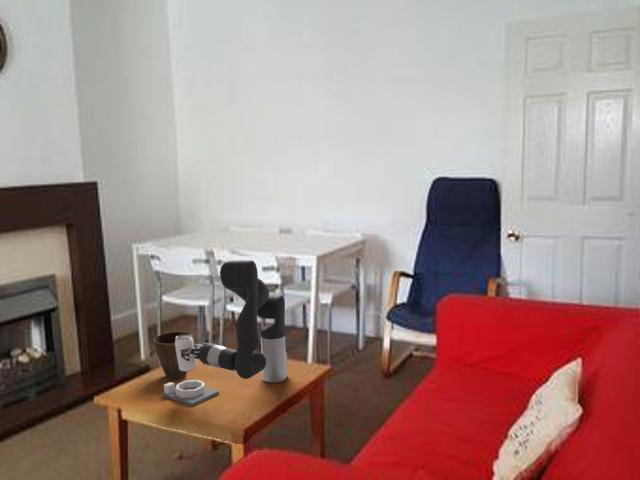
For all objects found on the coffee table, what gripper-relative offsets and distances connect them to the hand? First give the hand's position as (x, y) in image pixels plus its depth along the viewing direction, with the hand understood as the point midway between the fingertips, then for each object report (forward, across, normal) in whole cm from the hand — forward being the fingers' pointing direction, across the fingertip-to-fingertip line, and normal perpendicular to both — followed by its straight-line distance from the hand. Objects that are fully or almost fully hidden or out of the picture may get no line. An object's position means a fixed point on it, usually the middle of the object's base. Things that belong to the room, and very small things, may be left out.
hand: (183, 347), depth 223 cm
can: (-3, +1, +7) cm, 8 cm away
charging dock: (-2, 0, +18) cm, 18 cm away
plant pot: (+17, -9, +18) cm, 26 cm away
